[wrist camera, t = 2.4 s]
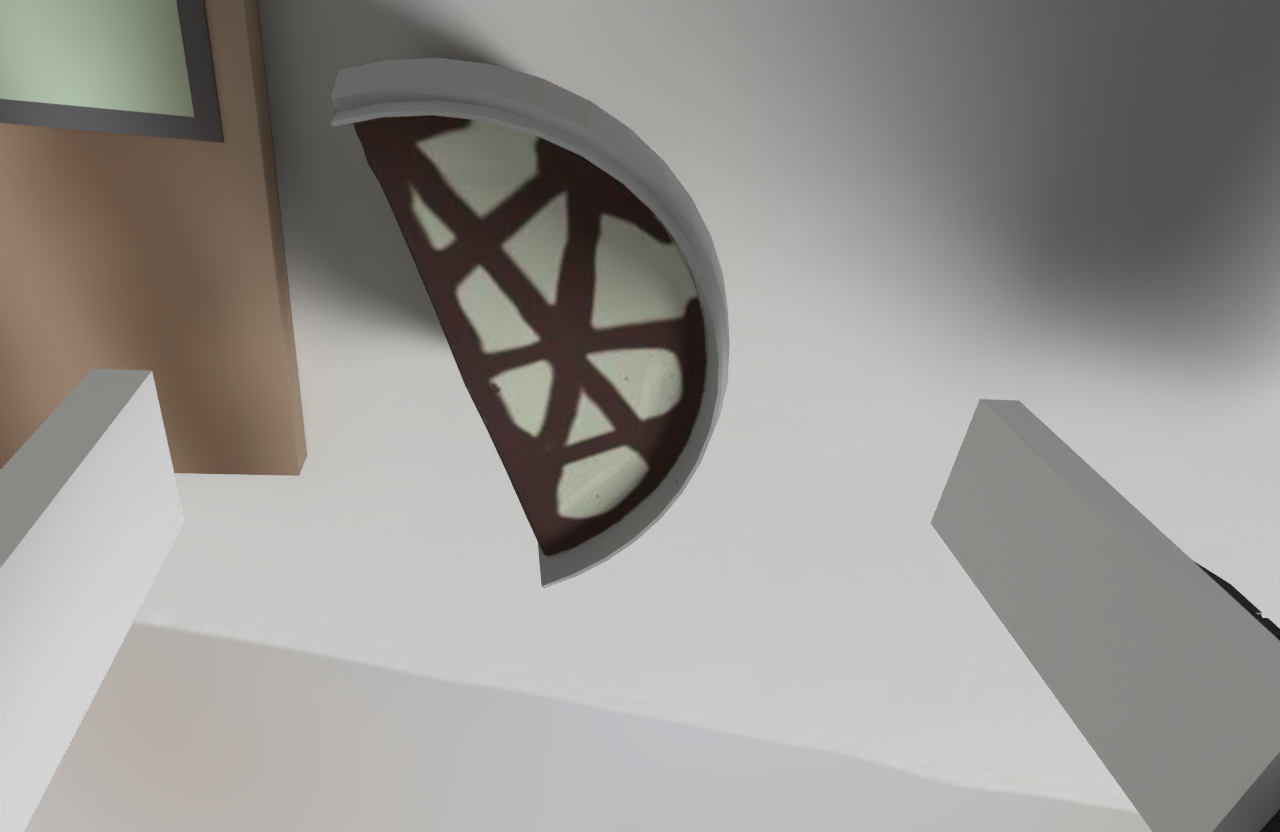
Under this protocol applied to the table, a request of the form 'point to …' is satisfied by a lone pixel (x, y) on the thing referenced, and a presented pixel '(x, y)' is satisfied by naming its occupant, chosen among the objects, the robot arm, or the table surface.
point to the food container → (555, 289)
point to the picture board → (146, 225)
